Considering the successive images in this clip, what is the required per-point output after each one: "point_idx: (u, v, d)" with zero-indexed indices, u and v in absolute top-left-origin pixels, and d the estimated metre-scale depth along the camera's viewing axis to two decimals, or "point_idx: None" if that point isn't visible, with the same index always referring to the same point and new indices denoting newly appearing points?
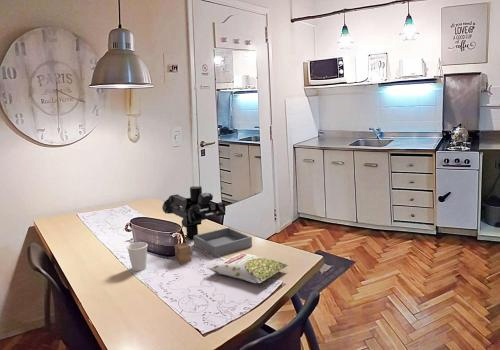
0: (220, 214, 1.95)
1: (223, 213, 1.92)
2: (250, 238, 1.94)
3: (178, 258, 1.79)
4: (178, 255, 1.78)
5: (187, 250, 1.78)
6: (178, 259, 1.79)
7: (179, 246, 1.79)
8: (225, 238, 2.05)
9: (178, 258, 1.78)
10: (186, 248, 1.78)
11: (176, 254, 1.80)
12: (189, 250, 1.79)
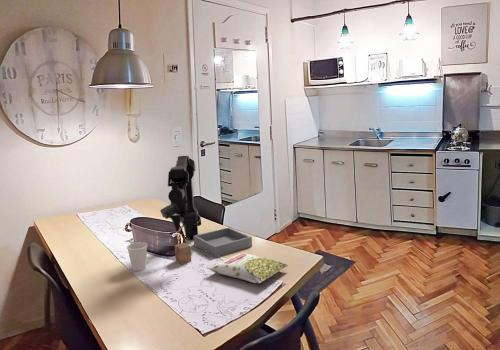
0: None
1: None
2: (250, 238, 1.94)
3: (178, 258, 1.79)
4: (178, 255, 1.78)
5: (187, 250, 1.78)
6: (178, 259, 1.79)
7: (179, 246, 1.79)
8: (225, 238, 2.05)
9: (178, 258, 1.78)
10: (186, 248, 1.78)
11: (176, 254, 1.80)
12: (189, 250, 1.79)
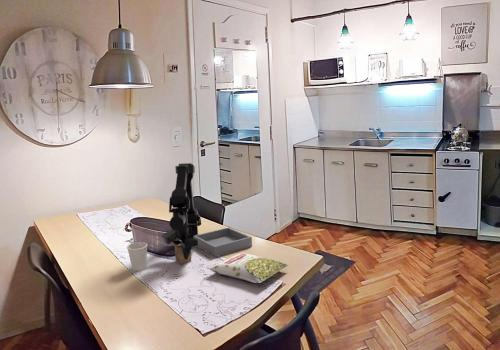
0: None
1: None
2: (250, 238, 1.94)
3: (178, 258, 1.79)
4: (178, 255, 1.78)
5: None
6: (178, 258, 1.79)
7: (179, 246, 1.79)
8: (225, 238, 2.05)
9: (178, 258, 1.78)
10: None
11: (176, 254, 1.80)
12: None
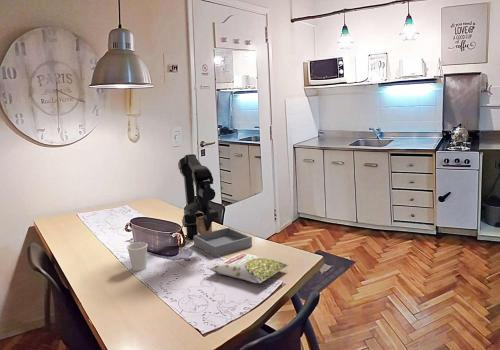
0: None
1: None
2: (250, 238, 1.94)
3: (199, 230, 1.87)
4: (199, 227, 1.86)
5: None
6: (199, 230, 1.87)
7: (200, 218, 1.86)
8: (225, 238, 2.05)
9: (200, 229, 1.86)
10: None
11: (197, 226, 1.88)
12: None
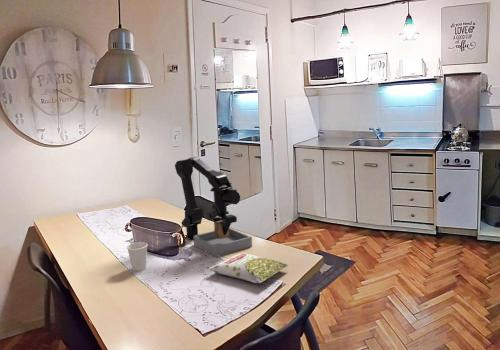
0: None
1: None
2: (250, 238, 1.94)
3: (217, 234, 1.95)
4: (217, 231, 1.95)
5: None
6: (217, 234, 1.95)
7: (218, 222, 1.95)
8: (225, 238, 2.05)
9: (218, 233, 1.95)
10: None
11: (215, 230, 1.96)
12: None
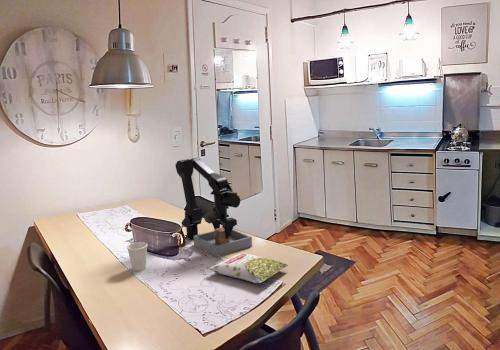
0: None
1: None
2: (250, 238, 1.94)
3: (218, 241, 1.96)
4: (218, 238, 1.95)
5: None
6: (218, 241, 1.96)
7: (219, 230, 1.95)
8: None
9: (218, 240, 1.95)
10: None
11: (215, 237, 1.97)
12: None
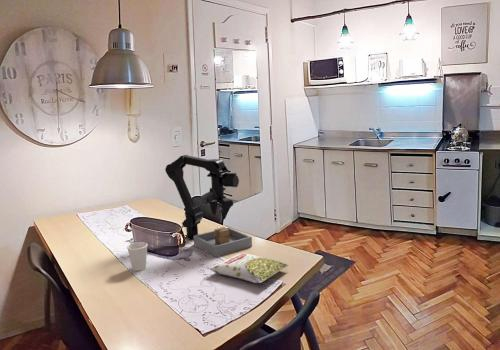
0: None
1: None
2: (250, 238, 1.94)
3: (218, 241, 1.96)
4: (218, 238, 1.95)
5: (226, 233, 1.95)
6: (218, 241, 1.96)
7: (219, 230, 1.95)
8: None
9: (218, 240, 1.95)
10: (225, 232, 1.95)
11: (215, 237, 1.97)
12: (228, 233, 1.96)
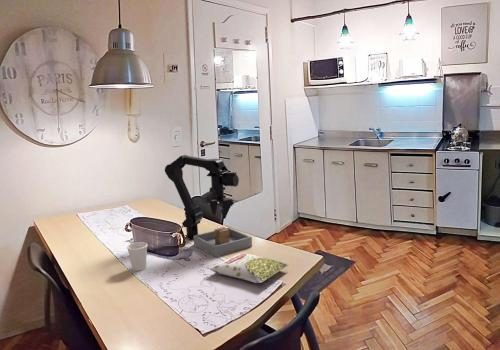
0: None
1: None
2: (250, 238, 1.94)
3: (218, 241, 1.96)
4: (218, 238, 1.95)
5: (226, 233, 1.95)
6: (218, 241, 1.96)
7: (219, 230, 1.95)
8: None
9: (218, 240, 1.95)
10: (225, 232, 1.95)
11: (215, 237, 1.97)
12: (228, 233, 1.96)
